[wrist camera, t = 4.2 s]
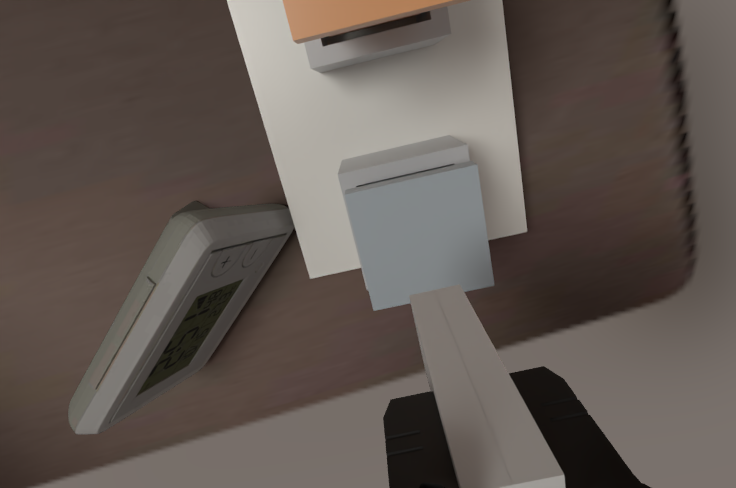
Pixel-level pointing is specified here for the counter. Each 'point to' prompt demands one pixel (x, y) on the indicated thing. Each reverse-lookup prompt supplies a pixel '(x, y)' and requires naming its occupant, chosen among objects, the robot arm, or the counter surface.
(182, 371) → the digital clock
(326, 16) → the orange plunger
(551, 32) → the counter surface
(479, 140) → the button console
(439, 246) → the grey plunger
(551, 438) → the robot arm
